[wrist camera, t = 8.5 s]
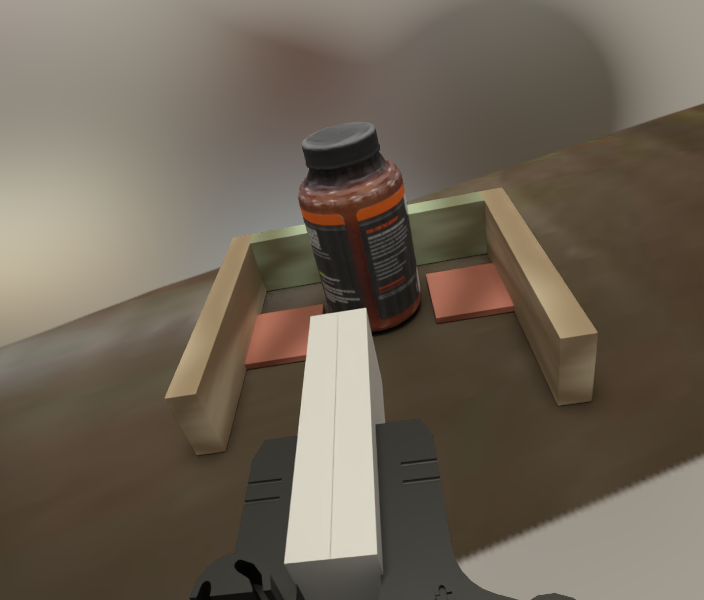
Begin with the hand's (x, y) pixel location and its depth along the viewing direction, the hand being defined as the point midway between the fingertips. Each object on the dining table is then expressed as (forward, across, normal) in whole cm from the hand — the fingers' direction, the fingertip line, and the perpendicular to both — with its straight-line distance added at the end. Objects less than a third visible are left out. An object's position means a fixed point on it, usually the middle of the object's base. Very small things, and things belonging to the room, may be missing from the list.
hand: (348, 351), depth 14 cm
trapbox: (+14, 0, -10) cm, 17 cm away
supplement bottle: (+16, 0, -10) cm, 19 cm away
